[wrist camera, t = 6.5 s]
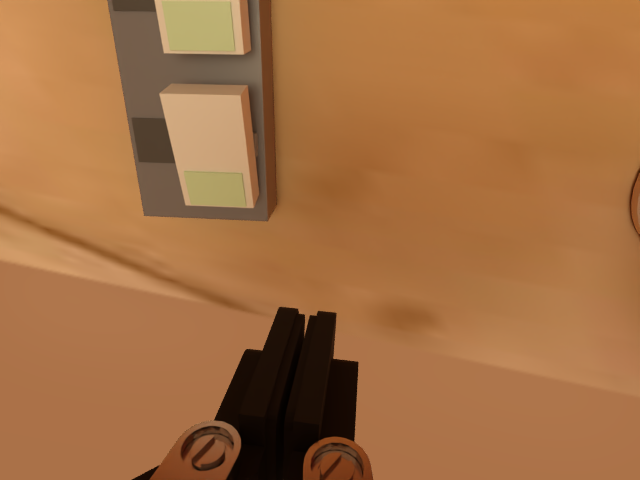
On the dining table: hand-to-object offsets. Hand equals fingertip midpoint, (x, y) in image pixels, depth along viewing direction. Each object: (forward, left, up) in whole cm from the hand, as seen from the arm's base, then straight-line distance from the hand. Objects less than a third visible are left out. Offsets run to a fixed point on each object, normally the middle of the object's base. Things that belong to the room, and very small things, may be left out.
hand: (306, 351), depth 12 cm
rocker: (+8, -2, -18) cm, 20 cm away
